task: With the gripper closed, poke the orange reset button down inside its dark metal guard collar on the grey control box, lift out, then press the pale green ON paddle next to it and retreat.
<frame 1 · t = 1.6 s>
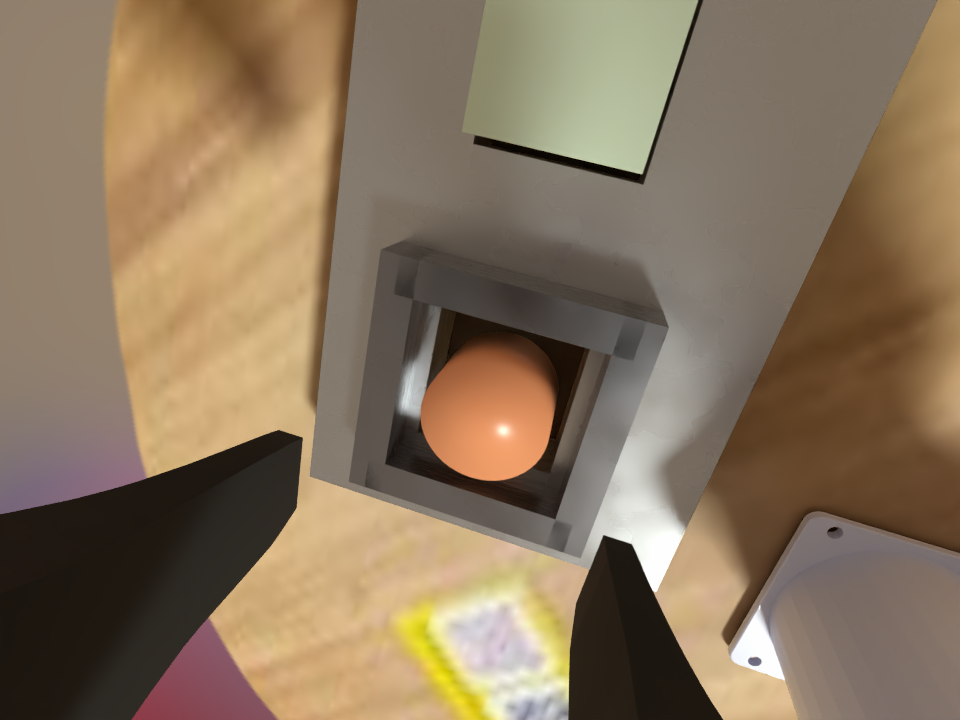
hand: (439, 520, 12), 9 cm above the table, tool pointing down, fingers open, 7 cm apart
on paddle: (580, 60, 13), point 3 cm above the table, slide at 0.0 cm
control box: (557, 241, 18), on the table
reset button: (493, 403, 17), point 3 cm above the table, slide at 0.0 cm
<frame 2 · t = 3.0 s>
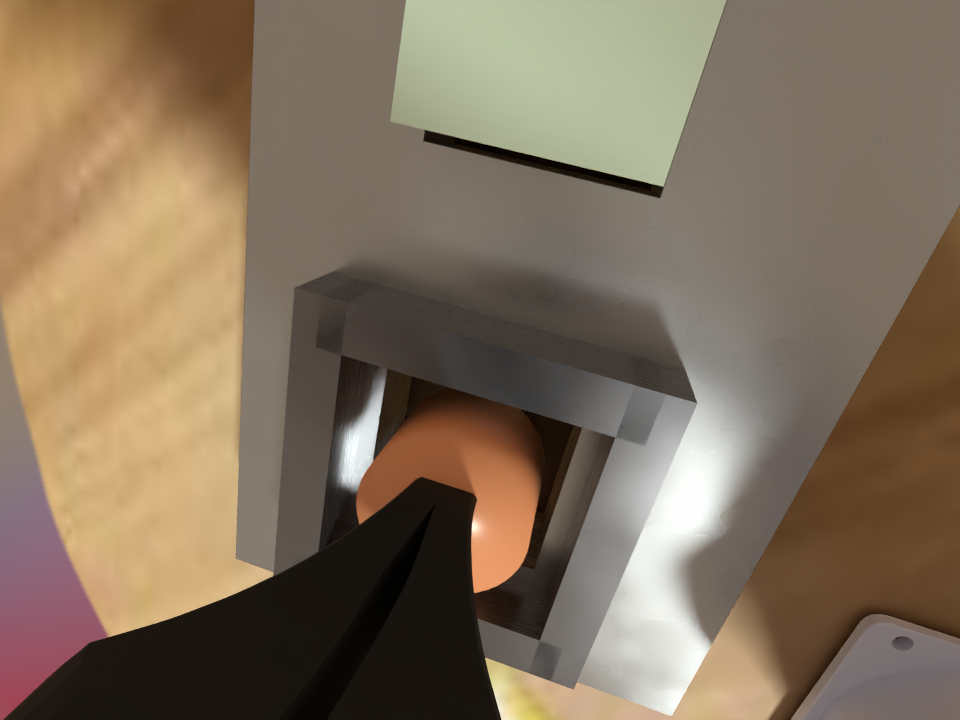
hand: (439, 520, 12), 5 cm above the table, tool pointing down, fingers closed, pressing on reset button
on paddle: (569, 17, 9), point 3 cm above the table, slide at 0.0 cm
control box: (543, 269, 14), on the table
reset button: (457, 485, 13), point 3 cm above the table, slide at 0.1 cm, touching gripper
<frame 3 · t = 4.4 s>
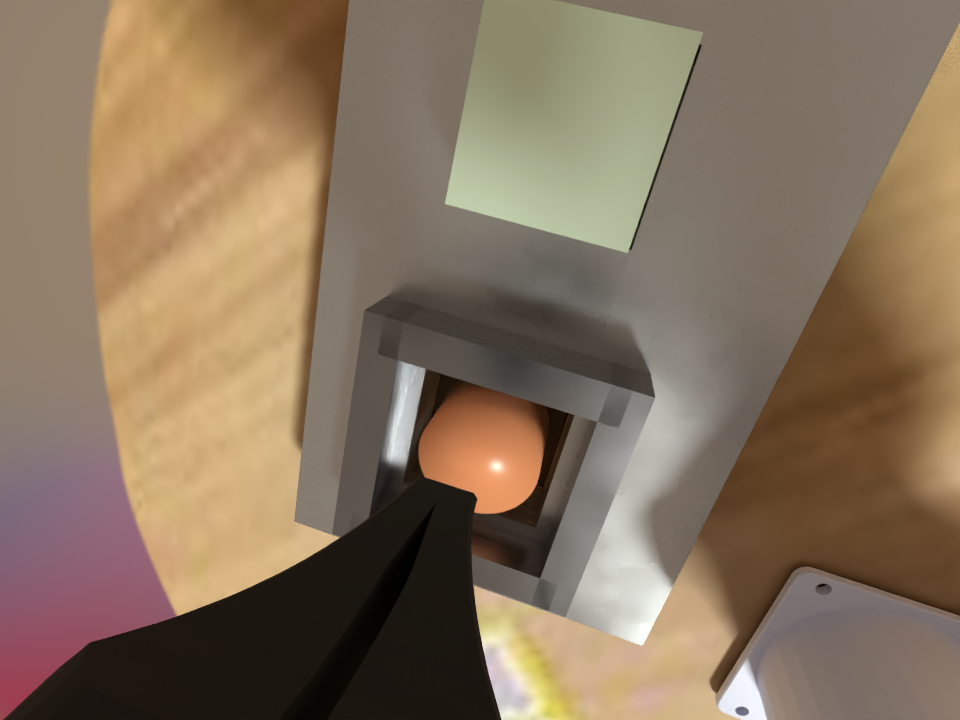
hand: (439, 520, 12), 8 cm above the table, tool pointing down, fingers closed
on paddle: (567, 130, 13), point 3 cm above the table, slide at 0.0 cm
control box: (546, 293, 18), on the table
reset button: (487, 439, 18), point 2 cm above the table, slide at 1.4 cm
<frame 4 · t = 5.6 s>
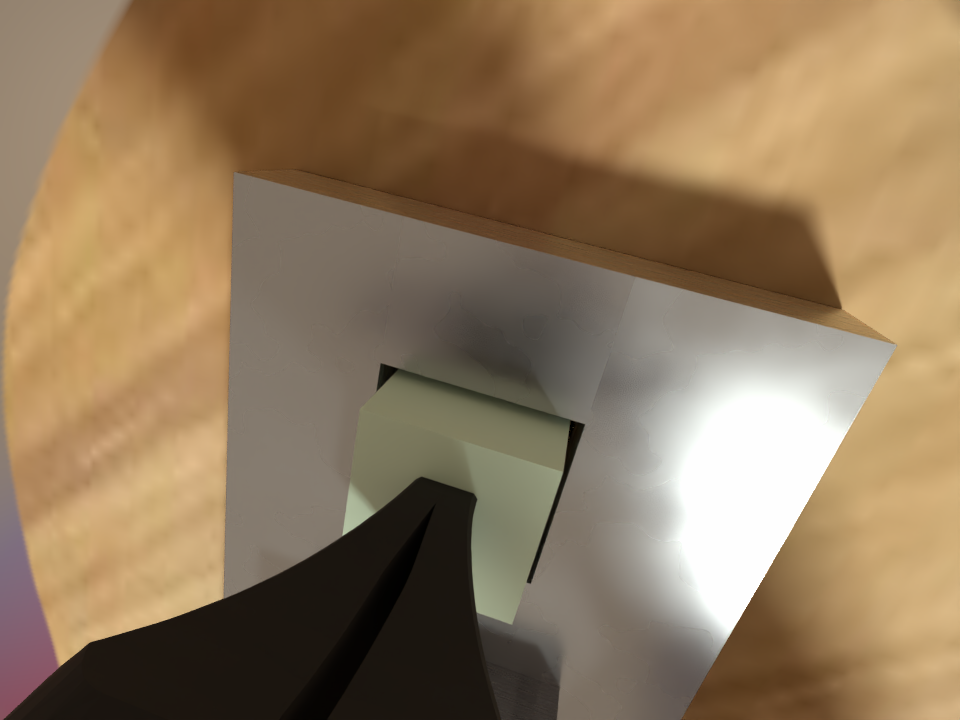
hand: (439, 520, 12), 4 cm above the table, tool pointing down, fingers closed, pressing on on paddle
on paddle: (460, 477, 13), point 2 cm above the table, slide at 1.0 cm, touching gripper
control box: (463, 563, 17), on the table
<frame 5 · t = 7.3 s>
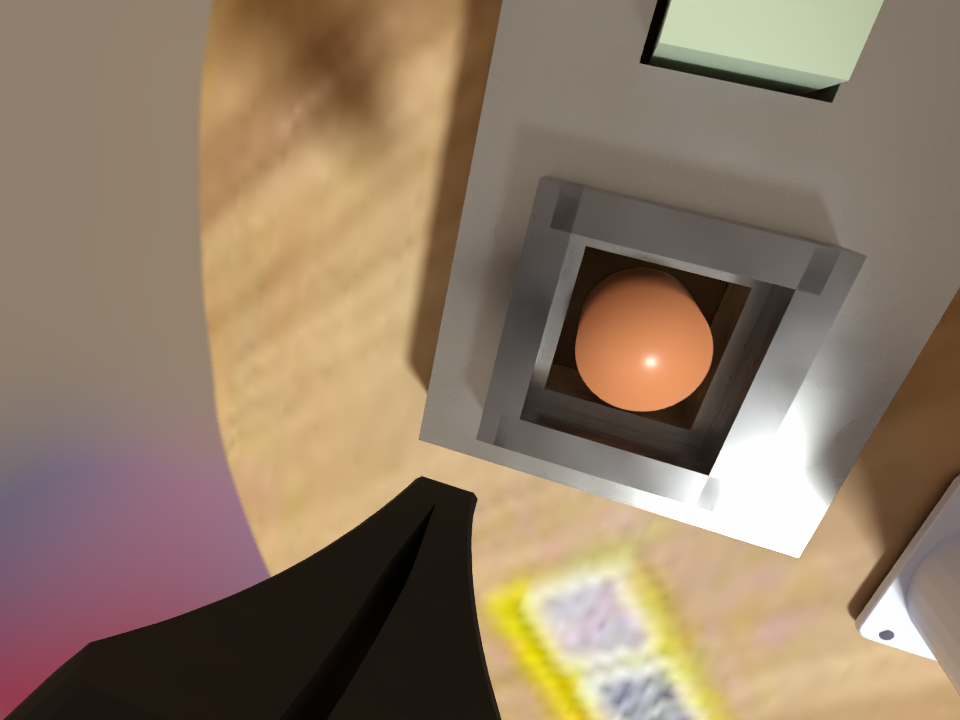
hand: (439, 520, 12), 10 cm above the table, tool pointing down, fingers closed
control box: (701, 180, 17), on the table
reset button: (639, 336, 17), point 2 cm above the table, slide at 1.4 cm
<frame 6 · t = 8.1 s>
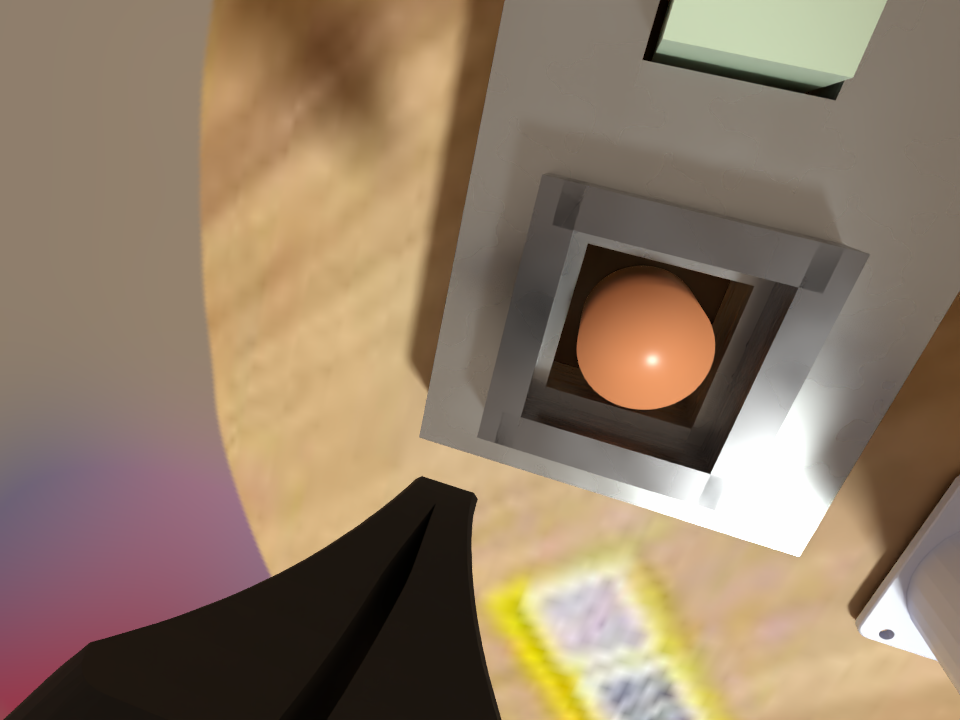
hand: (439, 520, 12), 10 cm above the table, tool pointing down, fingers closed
control box: (703, 178, 17), on the table
reset button: (641, 335, 17), point 2 cm above the table, slide at 1.4 cm
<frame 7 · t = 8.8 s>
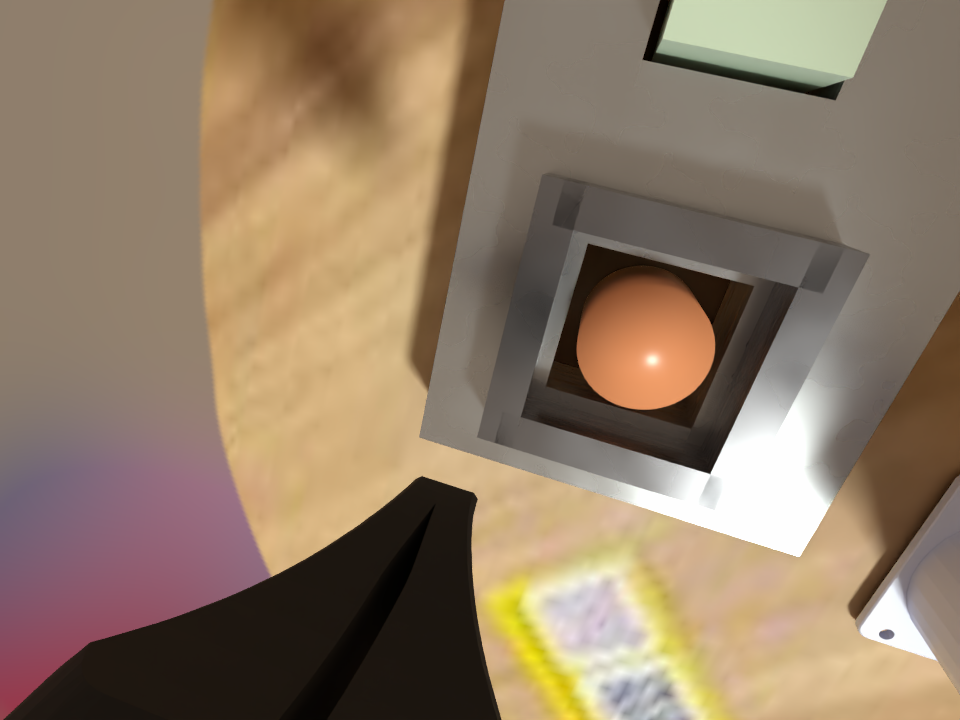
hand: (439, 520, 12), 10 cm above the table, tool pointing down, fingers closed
control box: (703, 178, 17), on the table
reset button: (641, 335, 17), point 2 cm above the table, slide at 1.4 cm
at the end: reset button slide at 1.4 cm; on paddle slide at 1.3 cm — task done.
